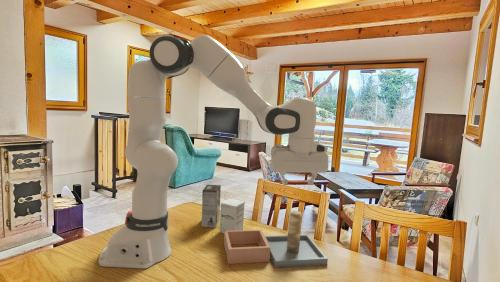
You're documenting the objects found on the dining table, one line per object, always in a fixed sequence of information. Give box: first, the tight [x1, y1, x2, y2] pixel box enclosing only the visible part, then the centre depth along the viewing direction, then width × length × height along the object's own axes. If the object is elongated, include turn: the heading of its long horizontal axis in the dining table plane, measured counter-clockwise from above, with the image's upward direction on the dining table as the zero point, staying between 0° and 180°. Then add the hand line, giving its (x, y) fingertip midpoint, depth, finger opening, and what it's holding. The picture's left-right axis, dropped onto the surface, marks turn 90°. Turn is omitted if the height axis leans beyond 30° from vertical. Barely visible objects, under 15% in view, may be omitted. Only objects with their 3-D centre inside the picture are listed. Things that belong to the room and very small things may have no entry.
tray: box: [264, 234, 329, 269], centre depth 104 cm, size 18×18×2 cm
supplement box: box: [219, 198, 245, 234], centre depth 118 cm, size 7×7×13 cm
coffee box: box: [201, 184, 222, 229], centre depth 125 cm, size 9×6×16 cm
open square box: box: [223, 229, 271, 265], centre depth 103 cm, size 14×14×5 cm
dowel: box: [287, 210, 303, 254], centre depth 103 cm, size 4×4×14 cm
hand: (297, 184), depth 101 cm, fingers open, 8 cm apart
